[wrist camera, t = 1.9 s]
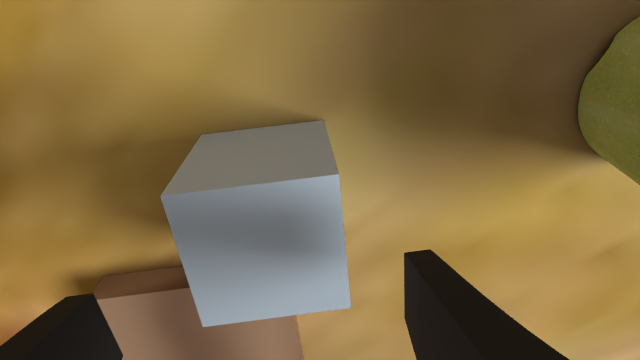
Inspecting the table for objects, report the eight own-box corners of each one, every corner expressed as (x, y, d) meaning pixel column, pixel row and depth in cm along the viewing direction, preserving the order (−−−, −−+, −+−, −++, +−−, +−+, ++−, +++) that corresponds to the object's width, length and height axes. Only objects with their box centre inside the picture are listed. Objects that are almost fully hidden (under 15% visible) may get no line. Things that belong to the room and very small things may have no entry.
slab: (284, 246, 17) (284, 275, 15) (306, 366, 20) (307, 401, 19) (108, 269, 17) (86, 301, 15) (160, 385, 20) (147, 423, 19)
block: (323, 119, 14) (339, 174, 10) (333, 222, 16) (350, 307, 12) (201, 134, 14) (159, 196, 10) (227, 236, 16) (202, 327, 12)
